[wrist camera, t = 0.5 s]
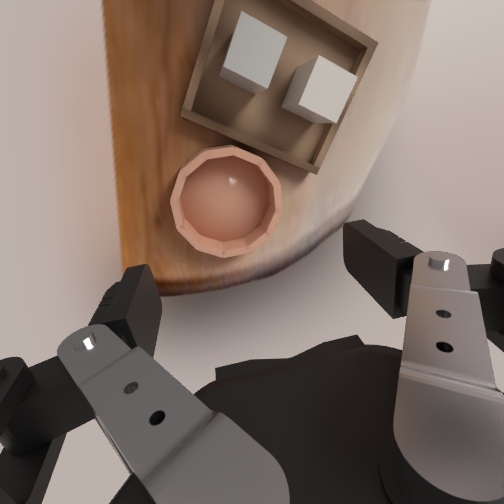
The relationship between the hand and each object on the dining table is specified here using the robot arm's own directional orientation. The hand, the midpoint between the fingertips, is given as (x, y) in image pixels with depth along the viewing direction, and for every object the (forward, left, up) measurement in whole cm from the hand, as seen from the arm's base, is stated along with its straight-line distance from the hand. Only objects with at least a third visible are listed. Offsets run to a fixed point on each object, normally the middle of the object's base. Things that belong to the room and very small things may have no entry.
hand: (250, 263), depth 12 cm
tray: (-11, +2, -24) cm, 26 cm away
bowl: (+2, +2, -24) cm, 24 cm away
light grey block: (-11, -1, -23) cm, 26 cm away
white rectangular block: (-11, +6, -23) cm, 26 cm away
